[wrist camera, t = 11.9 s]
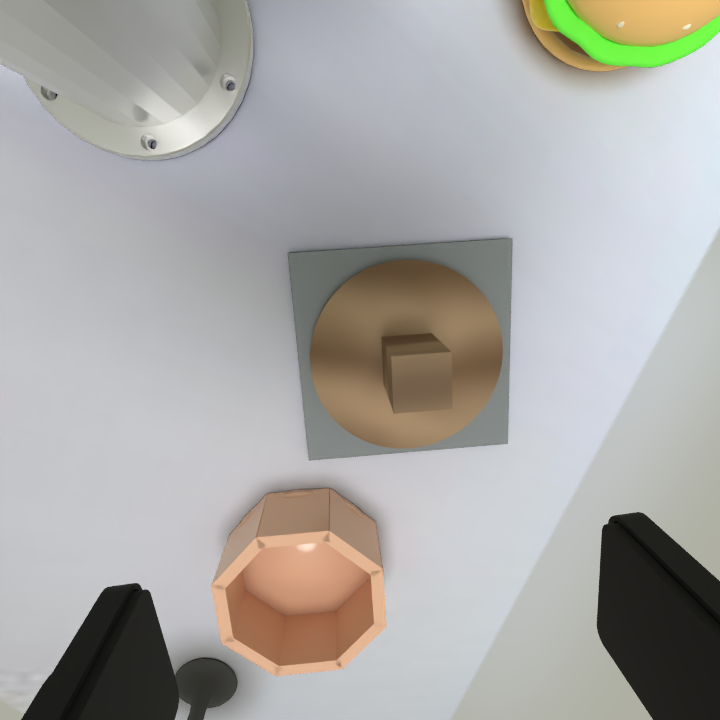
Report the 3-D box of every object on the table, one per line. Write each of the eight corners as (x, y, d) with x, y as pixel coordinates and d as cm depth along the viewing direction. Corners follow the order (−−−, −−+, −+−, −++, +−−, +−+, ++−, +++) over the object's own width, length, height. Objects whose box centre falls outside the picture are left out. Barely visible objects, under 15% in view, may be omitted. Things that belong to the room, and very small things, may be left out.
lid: (301, 266, 28) (294, 273, 22) (499, 253, 29) (541, 256, 23) (319, 449, 31) (316, 496, 26) (496, 434, 32) (532, 477, 26)
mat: (288, 253, 28) (288, 253, 28) (508, 238, 29) (512, 238, 28) (309, 456, 32) (308, 460, 31) (504, 440, 33) (507, 443, 32)
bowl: (221, 496, 32) (201, 540, 28) (374, 482, 33) (382, 524, 28) (241, 621, 35) (226, 682, 30) (382, 607, 36) (390, 665, 31)
